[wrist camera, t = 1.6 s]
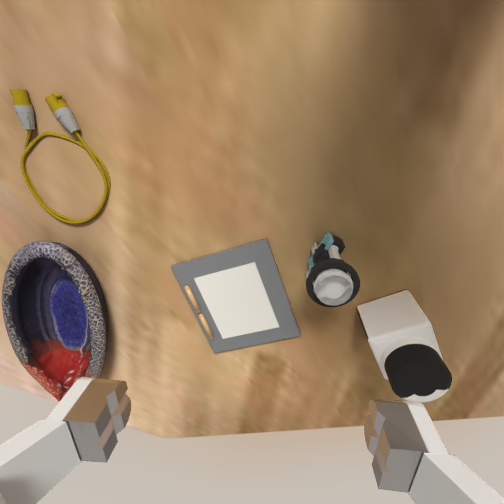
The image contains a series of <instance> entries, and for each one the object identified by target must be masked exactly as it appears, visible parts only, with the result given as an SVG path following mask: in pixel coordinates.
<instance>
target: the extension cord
mask: <svg viewBox="0 0 504 504" xmlns="http://www.w3.org/2000/svg"><path fill="white" fill-rule="evenodd" d="M10 91H11V94H12V97H13V101H14V103H13V105H14V109H15V112H16V114H17V116H18V118H19V120H20V122H21V124H22V126H23V127H24V129H26V130H28V135H27V139H26V142H25V147H24V149H25V148H26V147H27V146H28V144H29V141H30V137H31V129H36V128H35V119H34V112H35V111H34V110H33V107H32V104H30V101H29V97H28V93H27V90H10ZM45 101H46V102H47V104H48V105H49V107H50V108H51V110H52V111H53V113H54V114H55V116H56V117H57V120H59V121H60V122H61V123H62V125H63V126H64V127H65V128H66V129H67V130H68V131H69V132H70V133H71V134H76V136H77V137H78V138H79V140H80V141H81V143H80V142H78V141H76V140H74V139H72V138H69V137H66V136H64V135H60V134H56V133H51V132H46V133H42V134H40V135H39V136H37V137H36V138H35V139H34V140H33V141H32V143H31V144H30V145H29V146H28V148H27V149H26V150H25V152H24V153H23V155H22V157H21V170H22V174H23V176H24V179H25V181H26V184H27V186H28V188H29V189H30V191H31V193H32V194H33V196H34V197H35V198H36V200H37V201H38V202H39V203H40V205H41V206H42V207H43V208H44V209H45V210H46V211H47V212H48V213H50V214H51V215H52V216H54V217H55V218H57V219H58V220H60V221H63V222H66V223H71V224H79V223H83V222H87V221H89V220H91V219H93V218H94V217H95V216H97V215H98V213H99V212H100V211H101V209H102V208H103V206H104V204H105V202H106V200H107V197H108V195H109V192H110V187H111V183H110V177H109V174H108V171H107V169H106V167H105V165H104V164H103V162H102V161H101V160H100V158H99V157H98V156H97V155H96V154H95V153H94V152H93V151H92V150H90V149H89V148H88V146H87V145H86V143H85V142H84V141H83V139H82V138H81V136H80V135H79V133H78V132H79V131H80V128H79V126H78V124H77V121H76V119H75V117H74V115H73V113H72V111H71V110H70V108H69V107H68V105H67V104H66V102H65V101H64V100H63V97H62V94H59V93H53V94H51V95H49V96H47V97H46V98H45ZM47 135H51V136H57V137H60V138H64V139H66V140H69V141H72V142H74V143H76V144H78V145H80V146H81V147H83V148H85V149H86V150H87V151H88V153H89V154H90V156H91V157H92V159H93V160H94V162H95V163H96V165H97V166H98V168H99V170H100V172H101V174H102V176H103V179H104V184H105V191H104V196H103V199H102V202H101V204H100V206H99V208H98V209H97V211H96V212H95V213H94V214H93V215H91V216H90V217H89V218H87V219H84V220H74V219H70V218H68V217H65V216H63V215H61V214H59V213H57V212H55V211H54V210H52V209H51V208H50V207H48V206H47V205H46V204H45V203H44V201H43V200H42V199H41V198H40V196H39V195H38V193H37V191H36V189H35V188H34V186H33V184H32V182H31V179H30V177H29V175H28V173H27V170H26V158H27V153H28V152H29V151H30V149H31V148H32V147H33V146H34V144H35V143H36V142H37V141H38V140H39V139H40V138H42V137H44V136H47ZM96 159H97V160H98V161H99V163H100V164H101V166H102V167H103V169H104V171H105V173H106V176H107V180H106V176H105V174H104V172H103V170H102V168H101V166H100V164H99V163H98V161H97V160H96ZM28 180H29V181H28ZM107 181H108V185H107ZM58 216H59V217H58ZM60 217H61V218H60ZM62 218H63V219H62ZM64 219H66V220H64Z"/></svg>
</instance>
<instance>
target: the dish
mask: <svg viewBox="0 0 504 504" xmlns="http://www.w3.org/2000/svg"><path fill="white" fill-rule="evenodd" d="M2 308H3V316H4V321H5V326H6V330H7V333H8V336H9V339H10V342H11V345H12V347H13V349H14V351H15V354H16V356H17V357H18V359H19V360H20V362H21V364H22V365H23V366H24V368H25V369H26V370H27V371H28V373H29V374H30V375H31V376H32V377H33V378H34V379H35V380H36V381H38V382H39V383H40V384H41V386H42V387H43V388H44V389H45V390H46V391H48V392H49V393H50V394H52V395H53V396H54V397H55V398H56V399H57V400H58V401H61V399H62V398H63V397H64V396H65V394H66V393H67V392H68V391H69V389H70V388H71V387H72V385H73V384H74V383H75V382H76V380H78V379H79V378H81V377H88V378H99V376H100V375H101V372H102V369H103V366H104V361H105V356H106V351H107V342H108V322H107V313H106V307H105V302H104V299H103V295H102V292H101V289H100V286H99V284H98V281H97V279H96V277H95V275H94V273H93V272H92V270H91V268H90V267H89V265H88V264H87V263H86V261H85V260H84V259H83V258H82V257H81V256H80V255H79V254H78V253H77V252H75V251H74V250H72V249H71V248H69V247H67V246H66V245H63V244H61V243H57V242H47V241H36V242H33V243H30V244H27V245H25V246H24V247H22V248H21V249H20V250H18V251H17V253H16V254H15V255H14V256H13V258H12V259H11V261H10V263H9V265H8V268H7V271H6V274H5V278H4V283H3V290H2Z"/></svg>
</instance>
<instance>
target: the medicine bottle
mask: <svg viewBox="0 0 504 504" xmlns="http://www.w3.org/2000/svg"><path fill="white" fill-rule="evenodd" d="M357 312H358V314H359V317H360V320H361V323H362V326H363V329H364V331H365V334H366V337H367V340H368V342H369V345H370V347H371V349H372V351H373V354H374V356H375V358H376V360H377V363H378V365H379V367H380V370H381V372H382V374H383V376H384V378H385V379H387V380H389V382H390V384H391V387H392V389H393V391H394V393H395V394H396V395H398V396H399V397H401V398H402V399H404V400H407V401H410V402H421V403H423V402H430V401H433V400H436V399H438V398H440V397H441V396H443V395H444V394H445V393H446V392H447V391H448V389H449V388H450V385H451V382H452V376H451V373H450V371H449V370H448V368H447V366H446V365H445V363H444V362H443V359H442V355H441V352H440V349H439V346H438V343H437V340H436V337H435V334H434V331H433V328H432V325H431V323H430V321H429V320H428V318H427V317H426V315H425V314H424V312H423V311H422V309H421V308H420V306H419V305H418V303H417V302H416V300H415V299H414V298H413V296H412V295H411V293H410V292H409V291H408V290H404V291H401V292H398V293H395V294H392V295H389V296H386V297H383V298H380V299H377V300H374V301H371V302H367V303H364V304H361V305H358V306H357Z"/></svg>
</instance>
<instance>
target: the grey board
mask: <svg viewBox="0 0 504 504" xmlns="http://www.w3.org/2000/svg"><path fill="white" fill-rule="evenodd" d="M171 269H172V270H173V272H174V274H175V276H176V278H177V280H178V282H179V284H180V286H181V288H182V290H183V292H184V294H185V296H186V298H187V300H188V302H189V304H190V306H191V308H192V310H193V312H194V314H195V316H196V318H197V320H198V322H199V324H200V326H201V328H202V329H203V331H204V333H205V335H206V337H207V339H208V341H209V343H210V345H211V347H212V349H213V351H214V353H217V352H222V351H227V350H233V349H238V348H243V347H248V346H253V345H258V344H263V343H268V342H273V341H278V340H283V339H288V338H293V337H298V336H301V334H300V330H299V327H298V325H297V322H296V319H295V316H294V313H293V310H292V308H291V305H290V302H289V299H288V296H287V293H286V291H285V288H284V285H283V282H282V279H281V276H280V274H279V271H278V268H277V265H276V262H275V259H274V257H273V254H272V251H271V248H270V245H269V242H268V240H267V239H263V240H260V241H256V242H252V243H249V244H245V245H242V246H238V247H235V248H231V249H228V250H224V251H221V252H217V253H214V254H210V255H207V256H203V257H200V258H196V259H192V260H189V261H185V262H182V263H178V264H175V265H172V267H171Z"/></svg>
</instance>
